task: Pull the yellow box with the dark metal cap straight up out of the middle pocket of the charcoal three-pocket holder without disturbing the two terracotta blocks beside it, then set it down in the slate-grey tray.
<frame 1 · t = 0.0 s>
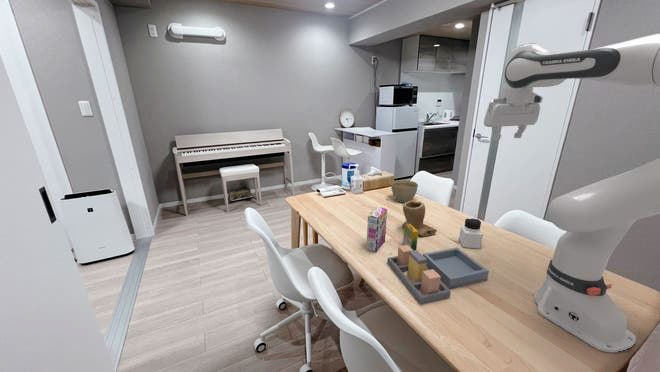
hand: (507, 138, 95), 48 cm above the table, fingers open, 8 cm apart
yellow box: (416, 267, 95), in the slot holder
medicine bottle: (469, 244, 118), on the table
planter bowl: (403, 200, 168), on the table
brown clay vase: (416, 231, 130), on the table
slot holder: (415, 278, 96), on the table
candy bar box: (376, 245, 118), on the table
tray: (452, 270, 100), on the table
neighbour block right: (428, 293, 89), resting in slot holder
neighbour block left: (404, 266, 104), resting in slot holder
crayon box: (409, 248, 116), on the table
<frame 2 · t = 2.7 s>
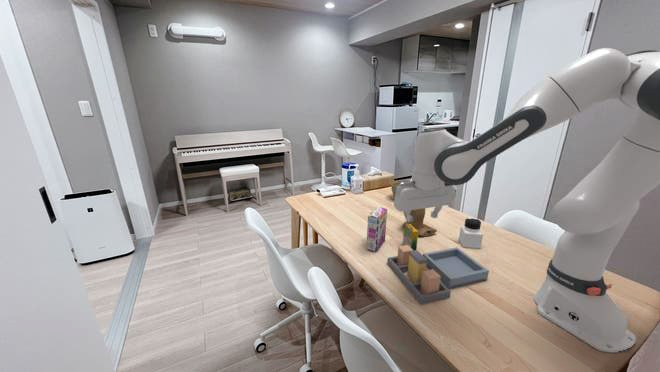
hand: (421, 219, 89), 24 cm above the table, fingers open, 8 cm apart
nothing on the table moved.
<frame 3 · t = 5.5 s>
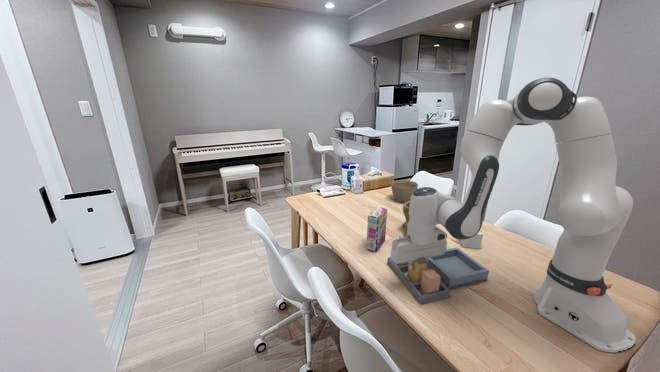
hand: (416, 268, 95), 5 cm above the table, fingers closed on yellow box, 3 cm apart
yellow box: (416, 267, 95), in the slot holder, touching gripper
everything else where it was.
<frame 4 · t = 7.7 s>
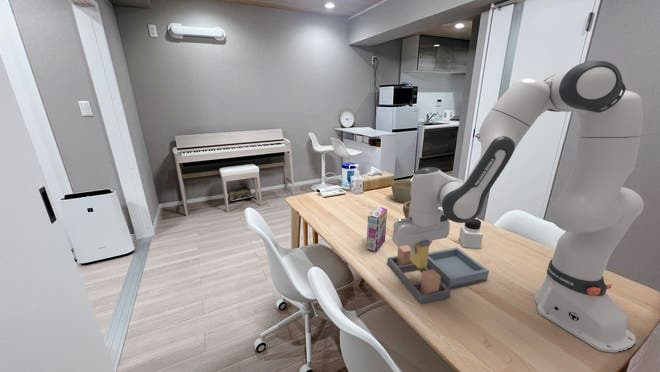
hand: (419, 251, 92), 12 cm above the table, fingers closed on yellow box, 3 cm apart
yellow box: (419, 250, 92), point 12 cm above the table, touching gripper
everything else where it was.
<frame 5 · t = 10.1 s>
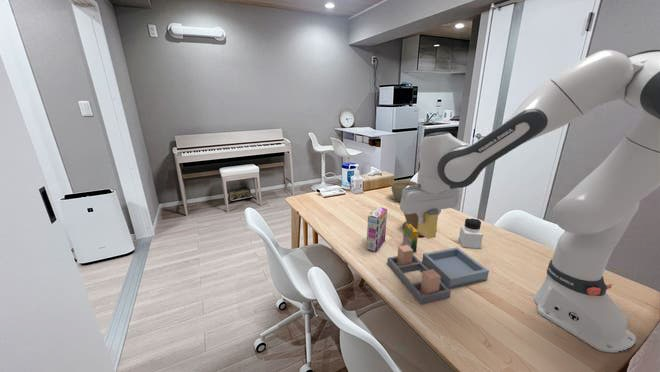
hand: (427, 221, 90), 23 cm above the table, fingers closed on yellow box, 3 cm apart
yellow box: (427, 220, 90), point 23 cm above the table, touching gripper
everything else where it was.
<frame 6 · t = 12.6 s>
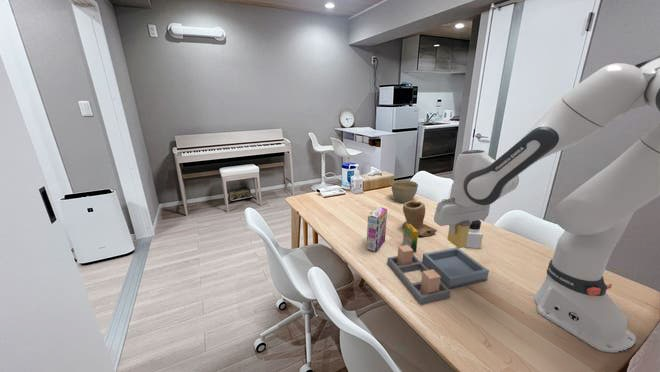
hand: (458, 232, 95), 16 cm above the table, fingers closed on yellow box, 3 cm apart
yellow box: (458, 231, 95), point 17 cm above the table, touching gripper
everything else where it was.
when the fingers open (8 cm above the table, at t = 14.8 s): yellow box drops 2 cm, resting on tray.
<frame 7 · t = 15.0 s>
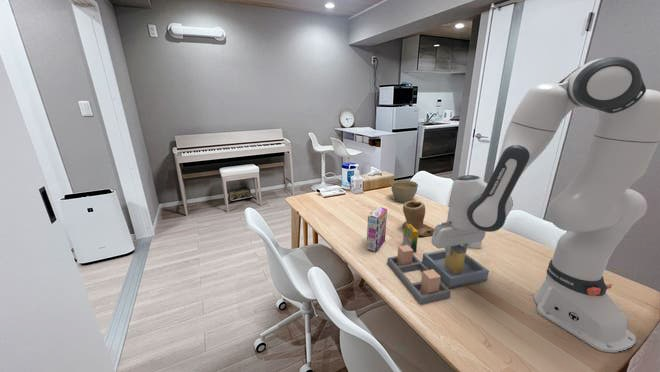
hand: (455, 253, 98), 8 cm above the table, fingers open, 5 cm apart
yellow box: (454, 257, 98), in the tray, point 6 cm above the table
everything else where it was.
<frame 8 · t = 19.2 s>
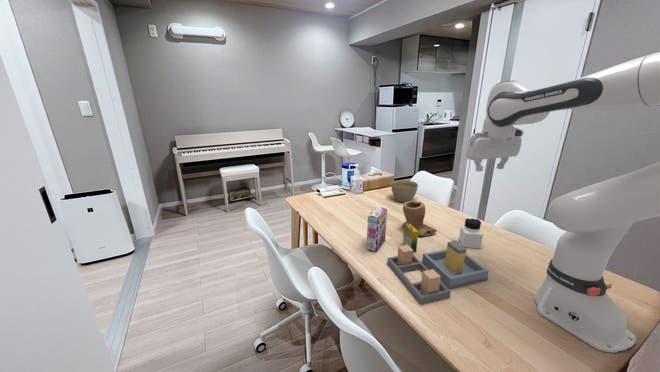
hand: (489, 169, 96), 37 cm above the table, fingers open, 8 cm apart
nothing on the table moved.
at the end: yellow box inside the target area on the tray (0.0 cm from its centre), point 6.0 cm above the tray's base; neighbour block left moved 0.0 cm from its start; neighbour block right moved 0.0 cm from its start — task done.
